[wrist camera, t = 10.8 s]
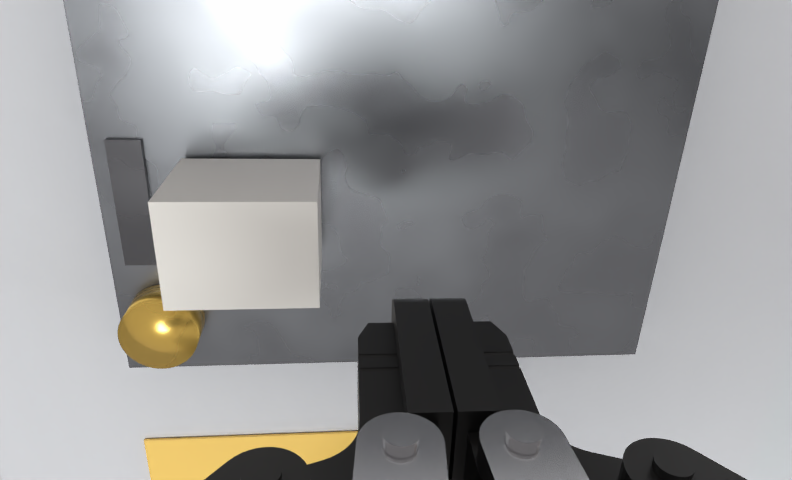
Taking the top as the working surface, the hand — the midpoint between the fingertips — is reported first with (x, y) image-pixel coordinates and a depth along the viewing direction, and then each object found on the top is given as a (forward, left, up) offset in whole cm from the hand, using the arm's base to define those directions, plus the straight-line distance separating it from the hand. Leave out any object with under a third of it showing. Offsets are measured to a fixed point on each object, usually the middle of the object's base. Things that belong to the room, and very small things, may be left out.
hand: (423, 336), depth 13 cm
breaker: (+4, 0, -7) cm, 8 cm away
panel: (0, -4, -9) cm, 10 cm away
